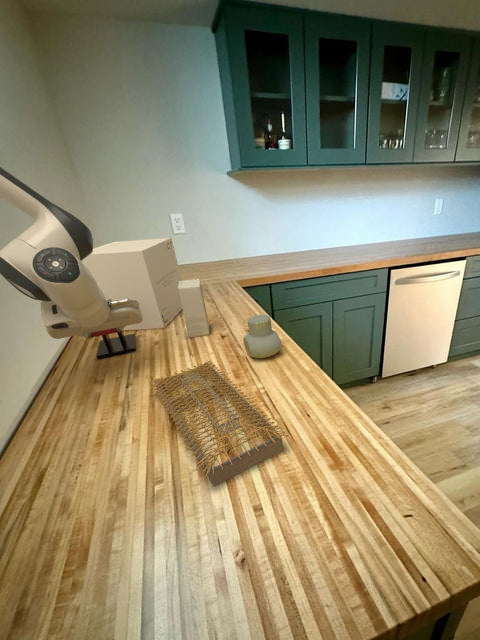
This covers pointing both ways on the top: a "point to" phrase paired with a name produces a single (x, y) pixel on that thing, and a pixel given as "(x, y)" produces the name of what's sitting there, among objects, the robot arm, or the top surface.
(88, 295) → the robot arm
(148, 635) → the top surface
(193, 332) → the cosmetic box
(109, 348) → the bracket
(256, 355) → the air freshener
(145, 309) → the cube
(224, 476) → the rafter model
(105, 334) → the lever
